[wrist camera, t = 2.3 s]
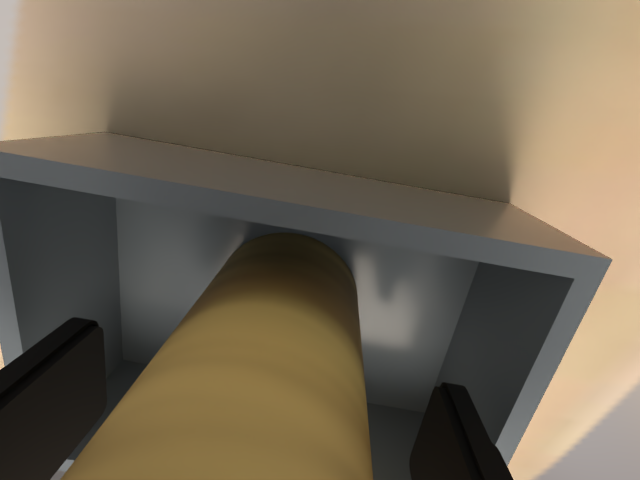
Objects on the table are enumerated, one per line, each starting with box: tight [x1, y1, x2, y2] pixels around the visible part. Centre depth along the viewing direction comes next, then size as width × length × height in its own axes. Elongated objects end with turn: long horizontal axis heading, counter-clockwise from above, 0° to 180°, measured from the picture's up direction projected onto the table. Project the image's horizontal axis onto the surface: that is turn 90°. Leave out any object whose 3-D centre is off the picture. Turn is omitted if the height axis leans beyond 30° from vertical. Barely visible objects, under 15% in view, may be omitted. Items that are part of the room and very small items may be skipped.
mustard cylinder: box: [60, 233, 373, 480], centre depth 9 cm, size 6×6×10 cm
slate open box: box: [0, 132, 612, 480], centre depth 12 cm, size 10×15×5 cm
